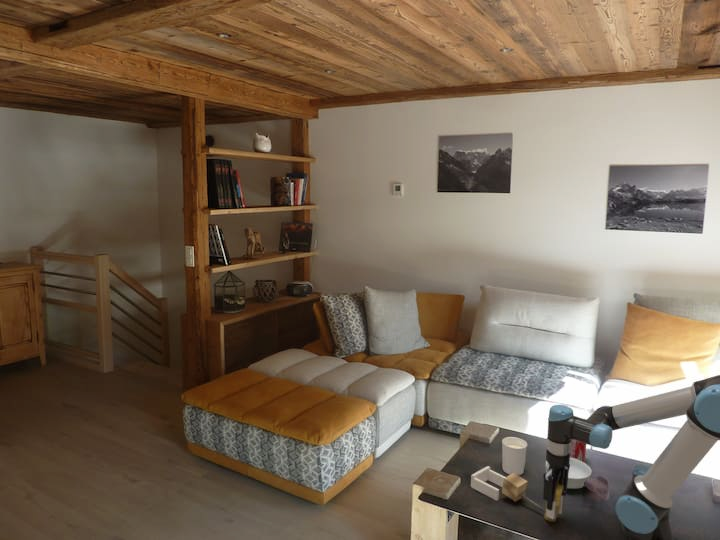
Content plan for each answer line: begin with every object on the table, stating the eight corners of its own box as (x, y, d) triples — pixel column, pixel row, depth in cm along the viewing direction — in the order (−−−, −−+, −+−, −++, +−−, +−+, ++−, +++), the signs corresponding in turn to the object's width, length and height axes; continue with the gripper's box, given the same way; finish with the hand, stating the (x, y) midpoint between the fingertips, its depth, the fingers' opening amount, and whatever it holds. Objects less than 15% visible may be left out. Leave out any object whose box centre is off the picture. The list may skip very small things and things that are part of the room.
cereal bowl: (575, 501, 198) (577, 483, 197) (535, 481, 210) (536, 464, 209) (598, 485, 208) (600, 468, 207) (559, 467, 221) (560, 451, 220)
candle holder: (526, 478, 213) (528, 449, 211) (501, 475, 215) (502, 446, 213) (524, 465, 222) (526, 438, 220) (499, 462, 224) (501, 435, 222)
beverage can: (565, 459, 228) (567, 432, 226) (576, 456, 230) (578, 429, 228) (577, 466, 222) (579, 439, 220) (588, 463, 225) (590, 436, 223)
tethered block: (559, 517, 187) (566, 485, 184) (550, 524, 183) (557, 491, 180) (510, 486, 202) (516, 456, 198) (501, 492, 198) (507, 461, 195)
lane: (513, 490, 204) (513, 478, 203) (496, 500, 197) (497, 488, 196) (487, 477, 213) (487, 465, 212) (470, 487, 206) (471, 474, 205)
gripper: (561, 439, 190) (556, 500, 194) (534, 454, 179) (530, 519, 183) (581, 447, 185) (576, 510, 188) (555, 463, 174) (550, 530, 177)
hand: (553, 514), depth 186 cm, fingers closed on tethered block, 4 cm apart
